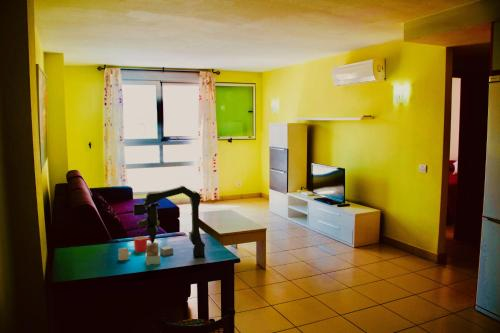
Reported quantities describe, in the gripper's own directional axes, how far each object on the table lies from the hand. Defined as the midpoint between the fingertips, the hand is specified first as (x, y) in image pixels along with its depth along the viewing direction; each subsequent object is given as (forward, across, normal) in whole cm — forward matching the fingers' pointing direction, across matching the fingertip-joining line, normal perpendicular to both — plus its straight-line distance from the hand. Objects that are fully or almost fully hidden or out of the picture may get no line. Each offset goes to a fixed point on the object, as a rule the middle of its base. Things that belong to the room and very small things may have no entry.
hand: (153, 240), depth 226 cm
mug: (+13, -25, -9) cm, 29 cm away
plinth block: (+13, 0, -1) cm, 13 cm away
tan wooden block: (+13, -14, +6) cm, 20 cm away
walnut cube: (+8, 0, -1) cm, 8 cm away
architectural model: (+14, -8, -18) cm, 24 cm away
